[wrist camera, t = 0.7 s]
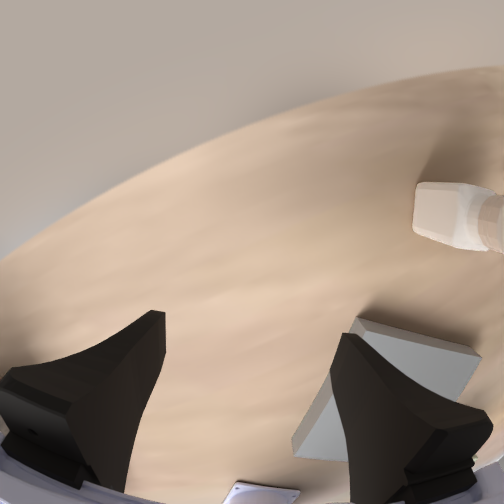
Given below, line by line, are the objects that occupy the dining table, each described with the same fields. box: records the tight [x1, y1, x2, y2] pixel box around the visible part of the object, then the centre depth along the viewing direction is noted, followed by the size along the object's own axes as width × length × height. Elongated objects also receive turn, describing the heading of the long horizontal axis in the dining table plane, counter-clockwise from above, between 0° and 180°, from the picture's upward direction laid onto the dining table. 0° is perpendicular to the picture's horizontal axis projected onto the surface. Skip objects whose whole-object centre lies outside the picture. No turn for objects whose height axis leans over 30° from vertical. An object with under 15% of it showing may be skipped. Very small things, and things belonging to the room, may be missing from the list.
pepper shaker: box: [412, 182, 504, 254], centre depth 16 cm, size 4×4×10 cm
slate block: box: [291, 317, 482, 462], centre depth 24 cm, size 14×14×3 cm
